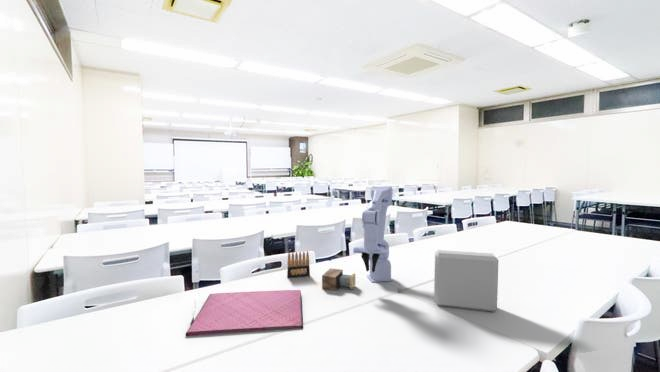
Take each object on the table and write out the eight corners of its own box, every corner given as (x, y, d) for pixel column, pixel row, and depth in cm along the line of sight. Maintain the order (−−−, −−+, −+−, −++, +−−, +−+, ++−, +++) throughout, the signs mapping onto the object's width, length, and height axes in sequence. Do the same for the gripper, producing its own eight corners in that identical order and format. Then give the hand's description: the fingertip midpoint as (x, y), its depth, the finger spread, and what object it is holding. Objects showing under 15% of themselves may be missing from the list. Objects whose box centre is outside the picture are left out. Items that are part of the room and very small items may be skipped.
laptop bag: (300, 285, 124) (303, 319, 97) (300, 295, 125) (303, 331, 98) (199, 290, 119) (172, 327, 93) (199, 299, 120) (172, 339, 93)
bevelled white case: (492, 303, 114) (493, 251, 113) (498, 313, 107) (499, 258, 106) (433, 297, 120) (434, 248, 119) (435, 306, 112) (435, 253, 111)
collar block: (343, 282, 137) (343, 269, 136) (336, 290, 127) (336, 277, 127) (330, 280, 139) (330, 268, 139) (322, 288, 130) (322, 275, 129)
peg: (355, 285, 132) (355, 273, 132) (352, 289, 128) (352, 277, 127) (338, 282, 135) (338, 271, 135) (335, 286, 130) (335, 275, 130)
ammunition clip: (287, 278, 143) (287, 253, 142) (287, 276, 144) (286, 251, 144) (309, 276, 145) (309, 251, 144) (309, 274, 147) (309, 250, 146)
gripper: (351, 239, 125) (351, 272, 126) (386, 242, 120) (386, 276, 121) (355, 236, 132) (355, 266, 132) (389, 238, 127) (389, 270, 127)
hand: (370, 270), depth 127 cm, fingers closed
